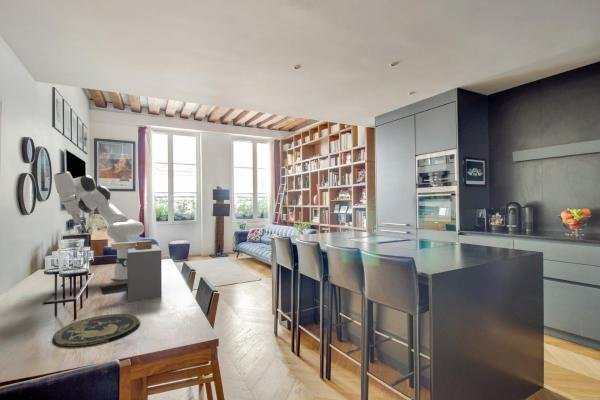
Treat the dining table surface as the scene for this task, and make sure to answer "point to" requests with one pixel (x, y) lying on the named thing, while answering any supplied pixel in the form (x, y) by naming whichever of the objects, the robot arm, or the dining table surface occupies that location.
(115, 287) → the tablet
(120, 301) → the dining table surface
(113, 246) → the birch lath
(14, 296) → the dining table surface
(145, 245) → the walnut offcuts
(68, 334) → the decorative plate
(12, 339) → the dining table surface
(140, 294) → the grey upright box
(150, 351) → the dining table surface
